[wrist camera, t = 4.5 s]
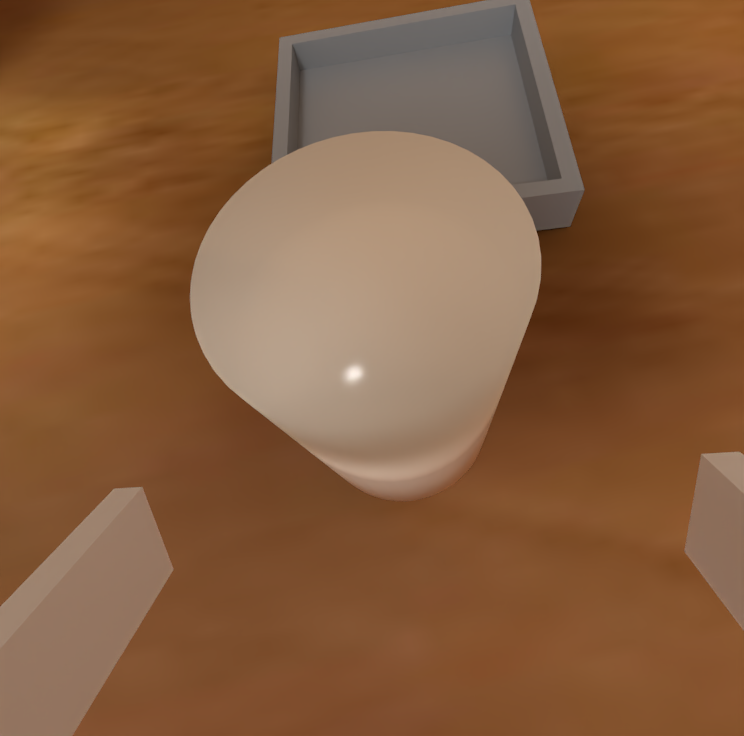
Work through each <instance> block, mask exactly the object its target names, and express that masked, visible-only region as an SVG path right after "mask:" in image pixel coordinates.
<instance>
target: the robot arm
mask: <svg viewBox="0 0 744 736" xmlns="http://www.w3.org/2000/svg"><path fill="white" fill-rule="evenodd" d="M685 553H686V554H687V555H688V557H689V558H690V559H691V561H692V562H693V563H694V565H695V566H696V567H697V569H698V570H699V571H700V573H701V574H702V575H703V577H704V578H705V580H706V581H707V582H708V584H709V585H710V586H711V588H712V589H713V590H714V592H715V593H716V594H717V596H718V597H719V598H720V600H721V601H722V602H723V604H724V605H725V606H726V608H727V609H728V610H729V612H730V613H731V614H732V616H733V617H734V618H735V620H736V621H737V622H738V624H739V625H740V626H741V628H742V629H743V630H744V455H743V454H741V453H740V452H727V453H710V454H701V458H700V464H699V470H698V476H697V482H696V487H695V493H694V499H693V505H692V511H691V516H690V522H689V528H688V534H687V540H686V545H685ZM173 570H174V569H173V567H172V564H171V562H170V559H169V556H168V554H167V551H166V548H165V546H164V543H163V540H162V538H161V535H160V533H159V530H158V527H157V525H156V522H155V519H154V517H153V514H152V511H151V509H150V506H149V504H148V501H147V498H146V496H145V493H144V490H143V488H142V487H134V488H117V489H113V490H112V491H111V493H110V494H109V495H108V496H107V497H106V498H105V499H104V500H103V501H102V502H101V503H100V504H99V505H98V506H97V507H96V508H95V509H94V510H93V511H92V512H91V513H90V514H89V515H88V516H87V517H86V518H85V519H84V521H83V522H82V523H81V524H80V525H79V526H78V527H77V528H76V529H75V530H74V531H73V532H72V533H71V534H70V535H69V536H68V537H67V538H66V539H65V540H64V541H63V542H62V543H61V544H60V545H59V546H58V547H57V549H56V550H55V551H54V552H53V553H52V554H51V555H50V556H49V557H48V558H47V559H46V560H45V561H44V562H43V563H42V564H41V565H40V566H39V567H38V568H37V569H36V570H35V571H34V572H33V573H32V574H31V575H30V576H29V578H28V579H27V580H26V581H25V582H24V583H23V584H22V585H21V586H20V587H19V588H18V589H17V590H16V591H15V592H14V593H13V594H12V595H11V596H10V597H9V598H8V599H7V600H6V601H5V602H4V603H3V604H2V606H1V607H0V736H72V735H73V734H74V732H75V730H76V729H77V727H78V725H79V724H80V722H81V720H82V719H83V717H84V716H85V714H86V712H87V711H88V709H89V707H90V706H91V704H92V702H93V701H94V699H95V698H96V696H97V694H98V693H99V691H100V689H101V688H102V686H103V684H104V683H105V681H106V679H107V678H108V676H109V675H110V673H111V671H112V670H113V668H114V666H115V665H116V663H117V661H118V660H119V658H120V657H121V655H122V653H123V652H124V650H125V648H126V647H127V645H128V643H129V642H130V640H131V638H132V637H133V635H134V634H135V632H136V630H137V629H138V627H139V625H140V624H141V622H142V620H143V619H144V617H145V615H146V614H147V612H148V611H149V609H150V607H151V606H152V604H153V602H154V601H155V599H156V597H157V596H158V594H159V593H160V591H161V589H162V588H163V586H164V584H165V583H166V581H167V579H168V578H169V576H170V574H171V573H172V571H173Z"/></svg>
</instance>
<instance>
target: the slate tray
mask: <svg viewBox="0 0 744 736" xmlns="http://www.w3.org/2000/svg"><path fill="white" fill-rule="evenodd" d="M370 131H398V132H409V133H416V134H421V135H426V136H431V137H434V138H438V139H441V140H444V141H447V142H450V143H453V144H455V145H457V146H459V147H462V148H464V149H466V150H468V151H470V152H472V153H473V154H475V155H477V156H478V157H480V158H482V159H483V160H485V161H486V162H487V163H489V164H490V165H491V166H492V167H494V168H495V169H496V170H497V171H499V172H500V173H501V174H502V175H503V176H504V177H505V178H506V179H507V180H508V182H509V183H510V184H511V185H512V186H513V187H514V188H515V190H516V191H517V193H518V194H519V195H520V197H521V198H522V200H523V201H524V203H525V205H526V207H527V209H528V211H529V213H530V215H531V217H532V219H533V222H534V225H535V228H536V231H537V230H545V229H553V228H562V227H570V226H571V223H572V221H573V218H574V215H575V213H576V210H577V208H578V205H579V203H580V200H581V198H582V195H583V193H584V190H585V189H584V186H583V182H582V179H581V176H580V172H579V169H578V165H577V162H576V158H575V155H574V151H573V148H572V145H571V141H570V138H569V134H568V131H567V127H566V124H565V120H564V117H563V114H562V110H561V107H560V103H559V100H558V96H557V93H556V89H555V86H554V83H553V79H552V76H551V72H550V69H549V65H548V62H547V58H546V55H545V52H544V48H543V45H542V41H541V38H540V34H539V31H538V27H537V24H536V21H535V17H534V14H533V10H532V7H531V3H530V0H486V1H480V2H475V3H469V4H464V5H458V6H453V7H447V8H442V9H436V10H430V11H425V12H419V13H414V14H408V15H403V16H397V17H392V18H386V19H381V20H375V21H369V22H364V23H358V24H353V25H347V26H342V27H336V28H331V29H325V30H319V31H314V32H308V33H303V34H297V35H292V36H286V37H281V38H280V40H279V55H278V71H277V86H276V102H275V117H274V133H273V148H272V163H274V162H275V161H277V160H278V159H280V158H282V157H284V156H286V155H288V154H290V153H292V152H294V151H296V150H298V149H300V148H303V147H305V146H308V145H310V144H313V143H316V142H319V141H322V140H326V139H329V138H332V137H337V136H342V135H347V134H352V133H360V132H370Z"/></svg>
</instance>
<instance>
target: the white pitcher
mask: <svg viewBox="0 0 744 736" xmlns="http://www.w3.org/2000/svg"><path fill="white" fill-rule="evenodd" d="M540 281H541V252H540V245H539V238H538V235H537V232H536V228H535V225H534V222H533V219H532V217H531V215H530V213H529V211H528V209H527V207H526V205H525V203H524V201H523V200H522V198H521V197H520V195H519V194H518V193H517V191H516V190H515V188H514V187H513V186H512V185H511V184H510V183H509V182H508V180H507V179H506V178H505V177H504V176H503V175H502V174H501V173H500V172H499V171H497V170H496V169H495V168H494V167H492V166H491V165H490V164H489V163H487V162H486V161H485V160H483V159H482V158H480V157H478V156H477V155H475V154H473V153H472V152H470V151H468V150H466V149H464V148H462V147H459V146H457V145H455V144H453V143H450V142H447V141H444V140H441V139H438V138H434V137H431V136H426V135H421V134H416V133H409V132H398V131H370V132H360V133H352V134H347V135H342V136H337V137H332V138H329V139H326V140H322V141H319V142H316V143H313V144H310V145H308V146H305V147H303V148H300V149H298V150H296V151H294V152H292V153H290V154H288V155H286V156H284V157H282V158H280V159H278V160H277V161H275V162H274V163H272V164H270V165H269V166H267V167H266V168H264V169H263V170H261V171H260V172H259V173H257V174H256V175H255V176H254V177H252V178H251V179H250V180H249V181H247V182H246V183H245V184H244V185H243V186H242V187H241V188H240V189H239V190H238V191H237V192H236V193H235V194H234V195H233V196H232V197H231V198H230V199H229V201H228V202H227V203H226V204H225V205H224V206H223V208H222V209H221V210H220V212H219V213H218V215H217V216H216V218H215V219H214V221H213V222H212V224H211V225H210V227H209V229H208V231H207V233H206V235H205V237H204V239H203V241H202V243H201V245H200V248H199V251H198V254H197V257H196V259H195V263H194V268H193V273H192V277H191V288H190V306H191V317H192V322H193V326H194V330H195V334H196V337H197V339H198V342H199V344H200V347H201V349H202V351H203V354H204V355H205V357H206V359H207V360H208V362H209V363H210V365H211V367H212V368H213V370H214V371H215V372H216V374H217V375H218V376H219V377H220V378H221V379H222V380H223V382H224V383H225V384H226V385H227V386H228V387H229V388H230V389H231V390H232V391H234V392H235V393H236V394H237V395H238V396H240V397H241V398H242V399H243V400H244V401H246V402H247V403H248V404H249V405H251V406H252V407H253V408H255V409H256V410H257V411H258V412H260V413H261V414H262V415H263V416H265V417H266V418H267V419H269V420H270V421H271V422H272V423H274V424H275V425H276V426H277V427H279V428H280V429H281V430H283V431H284V432H285V433H286V434H288V435H289V436H290V437H292V438H293V439H294V440H295V441H297V442H298V443H299V444H300V445H302V446H303V447H304V448H306V449H307V450H308V451H309V452H311V453H312V454H313V455H314V456H316V457H317V458H318V459H320V460H321V461H322V462H323V463H325V464H326V465H327V466H328V467H330V468H331V469H332V470H334V471H335V472H336V473H337V474H339V475H340V476H341V477H342V478H344V479H345V480H346V481H348V482H349V483H350V484H351V485H353V486H354V487H356V488H357V489H359V490H361V491H362V492H365V493H367V494H369V495H371V496H374V497H377V498H381V499H385V500H391V501H413V500H420V499H423V498H427V497H431V496H433V495H435V494H438V493H440V492H442V491H444V490H445V489H447V488H449V487H450V486H452V485H453V484H454V483H456V482H457V481H458V480H459V479H461V477H462V476H463V475H464V474H465V473H466V472H467V471H468V470H469V469H470V467H471V466H472V464H473V463H474V462H475V460H476V458H477V456H478V454H479V452H480V450H481V447H482V445H483V442H484V439H485V437H486V434H487V432H488V429H489V426H490V424H491V421H492V418H493V416H494V413H495V410H496V408H497V405H498V402H499V400H500V397H501V395H502V392H503V389H504V387H505V384H506V381H507V379H508V376H509V373H510V371H511V368H512V366H513V363H514V360H515V358H516V355H517V352H518V350H519V347H520V344H521V342H522V339H523V336H524V334H525V331H526V329H527V326H528V323H529V321H530V318H531V315H532V312H533V309H534V307H535V304H536V301H537V296H538V291H539V286H540Z"/></svg>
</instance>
